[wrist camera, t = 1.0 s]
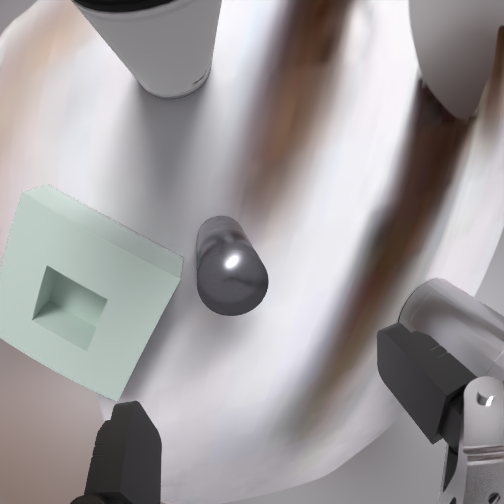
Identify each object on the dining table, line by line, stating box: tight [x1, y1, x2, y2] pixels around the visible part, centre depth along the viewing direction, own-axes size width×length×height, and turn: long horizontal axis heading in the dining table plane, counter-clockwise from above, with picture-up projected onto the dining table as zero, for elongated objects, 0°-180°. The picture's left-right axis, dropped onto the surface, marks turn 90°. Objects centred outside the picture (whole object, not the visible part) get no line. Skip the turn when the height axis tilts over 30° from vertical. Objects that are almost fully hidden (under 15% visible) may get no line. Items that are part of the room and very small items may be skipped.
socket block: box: [0, 184, 184, 402], centre depth 24 cm, size 14×14×5 cm
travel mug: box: [71, 0, 222, 99], centre depth 13 cm, size 6×7×20 cm
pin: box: [197, 216, 268, 316], centre depth 22 cm, size 4×4×10 cm
